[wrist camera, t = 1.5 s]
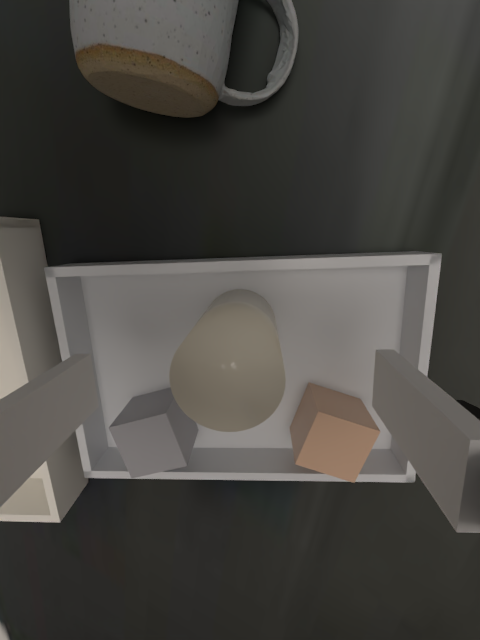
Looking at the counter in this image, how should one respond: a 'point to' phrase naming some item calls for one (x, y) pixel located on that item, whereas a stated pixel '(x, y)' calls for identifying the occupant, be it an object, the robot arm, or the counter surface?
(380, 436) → the tray
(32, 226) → the bin
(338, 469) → the orange cube
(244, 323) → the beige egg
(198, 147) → the counter surface
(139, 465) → the gray cube
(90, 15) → the ceramic mug
